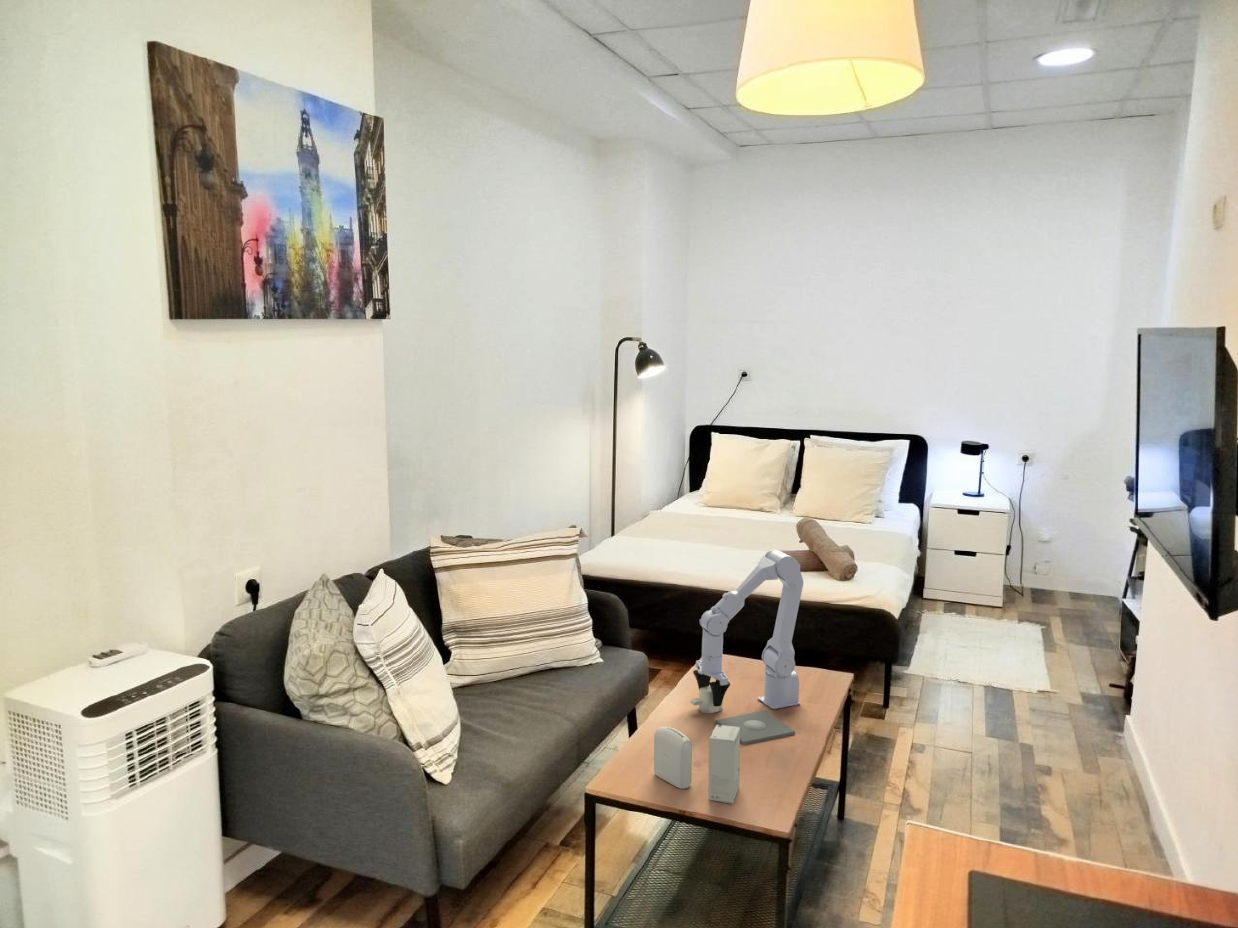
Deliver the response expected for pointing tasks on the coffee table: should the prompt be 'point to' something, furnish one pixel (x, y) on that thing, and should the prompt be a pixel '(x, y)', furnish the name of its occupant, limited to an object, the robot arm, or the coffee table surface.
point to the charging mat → (757, 726)
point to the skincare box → (724, 763)
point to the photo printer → (673, 757)
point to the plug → (706, 701)
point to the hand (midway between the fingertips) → (710, 700)
